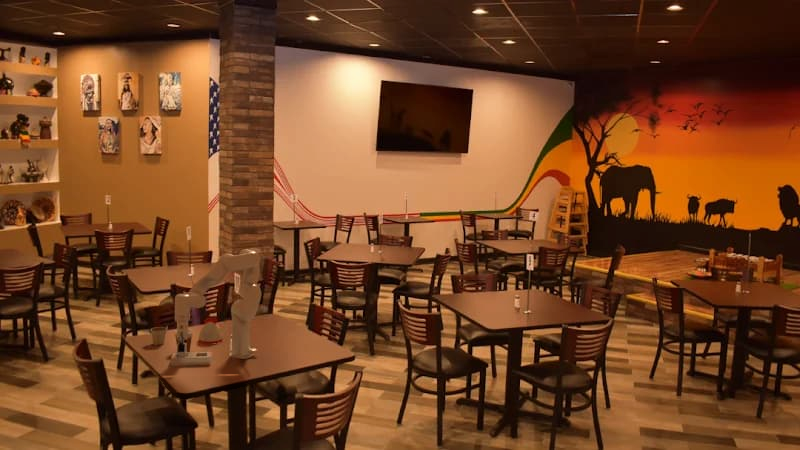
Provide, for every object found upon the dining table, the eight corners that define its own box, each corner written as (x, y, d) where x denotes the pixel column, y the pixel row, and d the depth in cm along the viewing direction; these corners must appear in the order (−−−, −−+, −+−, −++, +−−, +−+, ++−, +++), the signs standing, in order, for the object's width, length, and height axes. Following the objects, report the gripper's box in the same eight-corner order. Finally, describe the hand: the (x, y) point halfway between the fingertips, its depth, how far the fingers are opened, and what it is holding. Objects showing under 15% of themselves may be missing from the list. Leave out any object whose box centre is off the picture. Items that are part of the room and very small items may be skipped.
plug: (186, 361, 363) (186, 342, 362) (185, 363, 359) (185, 345, 358) (177, 361, 362) (177, 343, 361) (176, 363, 358) (176, 345, 357)
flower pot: (170, 341, 400) (170, 327, 400) (162, 346, 391) (163, 331, 390) (154, 340, 401) (154, 326, 400) (147, 345, 392) (147, 330, 391)
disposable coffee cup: (174, 356, 373) (174, 335, 372) (175, 351, 383) (175, 330, 381) (192, 355, 376) (192, 334, 375) (192, 350, 385) (193, 330, 384)
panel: (211, 360, 369) (211, 351, 368) (210, 366, 359) (210, 357, 359) (173, 361, 365) (173, 352, 364) (171, 367, 355) (171, 358, 355)
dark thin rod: (206, 366, 359) (206, 364, 358) (206, 367, 358) (206, 365, 358) (177, 369, 353) (177, 367, 353) (177, 369, 352) (177, 367, 352)
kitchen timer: (218, 344, 399) (219, 319, 398) (195, 343, 399) (195, 318, 398) (225, 338, 413) (225, 314, 411) (202, 337, 413) (203, 313, 412)
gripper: (188, 321, 351) (187, 353, 352) (191, 313, 367) (191, 344, 369) (173, 321, 349) (172, 354, 351) (176, 313, 366) (176, 344, 368)
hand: (182, 349), depth 360 cm, fingers open, 9 cm apart
